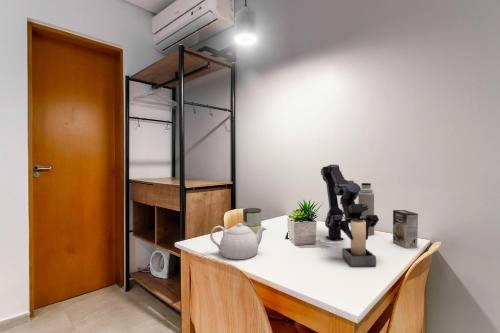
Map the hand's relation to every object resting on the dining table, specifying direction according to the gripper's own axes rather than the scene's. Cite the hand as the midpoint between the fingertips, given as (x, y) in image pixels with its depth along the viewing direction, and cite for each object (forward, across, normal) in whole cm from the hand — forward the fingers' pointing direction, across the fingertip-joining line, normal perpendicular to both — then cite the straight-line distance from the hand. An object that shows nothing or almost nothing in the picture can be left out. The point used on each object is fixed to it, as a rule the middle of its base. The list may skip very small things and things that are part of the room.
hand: (359, 239), depth 105 cm
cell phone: (-20, -21, +35) cm, 45 cm away
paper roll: (+4, 0, +6) cm, 7 cm away
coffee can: (-23, -43, +37) cm, 61 cm away
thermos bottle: (-22, +20, +36) cm, 47 cm away
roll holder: (+6, 0, +8) cm, 10 cm away
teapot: (-2, -49, +16) cm, 51 cm away
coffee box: (-8, +30, +22) cm, 38 cm away
